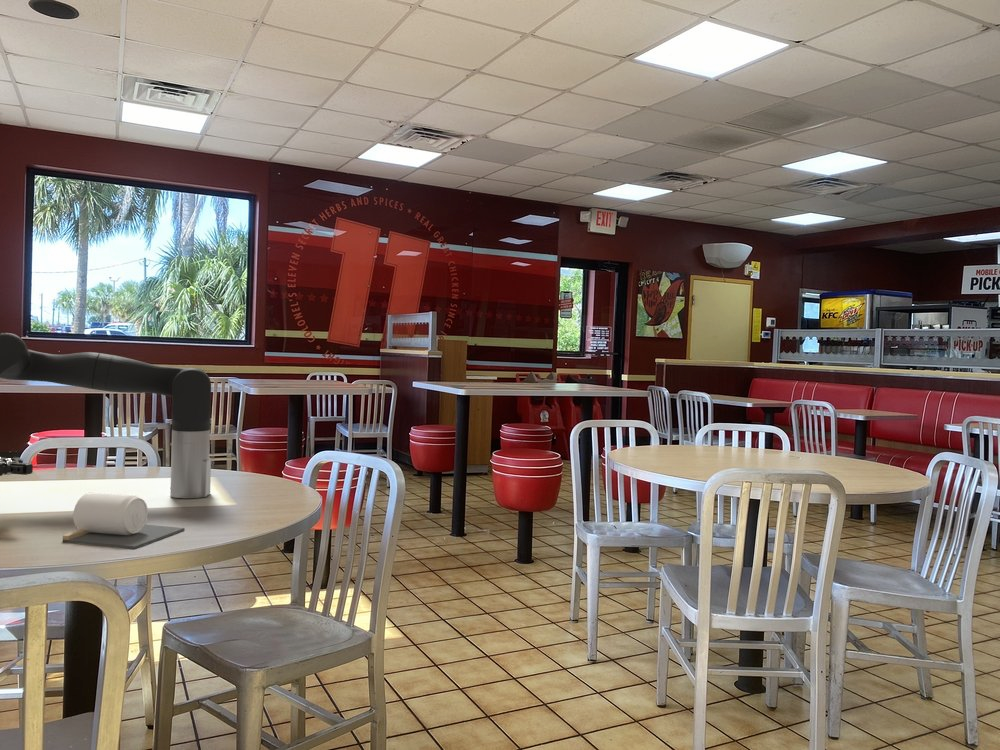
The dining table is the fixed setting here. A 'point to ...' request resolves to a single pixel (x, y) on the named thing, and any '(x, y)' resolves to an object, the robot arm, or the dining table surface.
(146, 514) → the beverage can
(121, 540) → the mat
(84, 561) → the dining table surface
